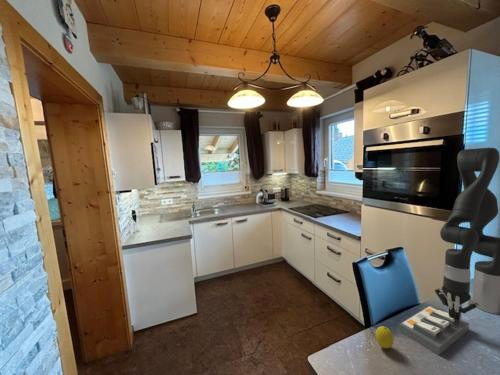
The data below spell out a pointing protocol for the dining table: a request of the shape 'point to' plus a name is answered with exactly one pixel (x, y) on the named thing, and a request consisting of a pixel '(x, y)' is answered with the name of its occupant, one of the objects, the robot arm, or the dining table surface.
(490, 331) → the dining table surface
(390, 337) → the lemon
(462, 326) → the switch unit
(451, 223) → the robot arm
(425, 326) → the switch
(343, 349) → the dining table surface
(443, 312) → the switch
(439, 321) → the switch mid
